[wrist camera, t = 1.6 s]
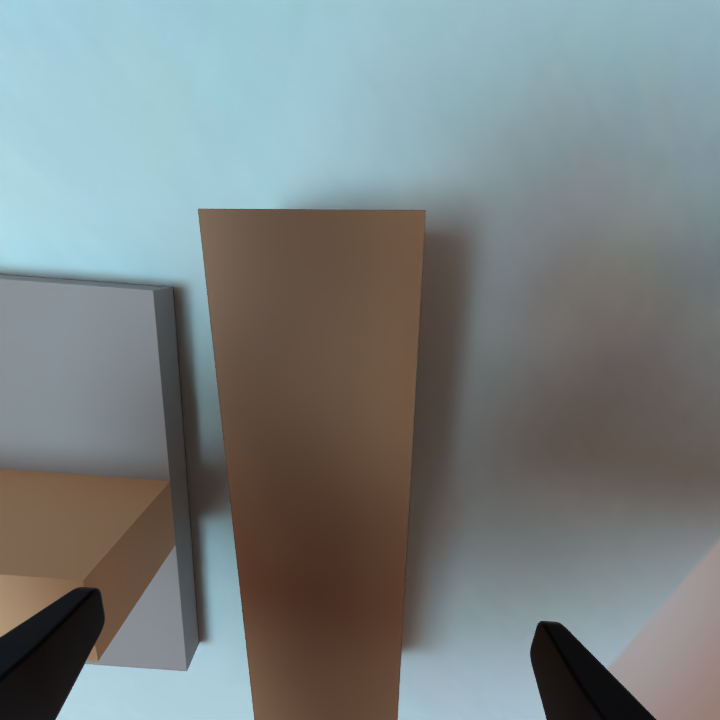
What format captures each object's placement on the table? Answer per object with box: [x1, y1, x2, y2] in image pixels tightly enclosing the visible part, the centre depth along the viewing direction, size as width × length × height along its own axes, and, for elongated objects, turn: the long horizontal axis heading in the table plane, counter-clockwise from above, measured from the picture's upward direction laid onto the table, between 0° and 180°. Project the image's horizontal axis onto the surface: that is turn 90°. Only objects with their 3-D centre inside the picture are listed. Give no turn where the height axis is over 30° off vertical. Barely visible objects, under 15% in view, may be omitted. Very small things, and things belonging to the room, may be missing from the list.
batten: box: [198, 209, 426, 720], centre depth 10 cm, size 4×16×4 cm, turn 179°
